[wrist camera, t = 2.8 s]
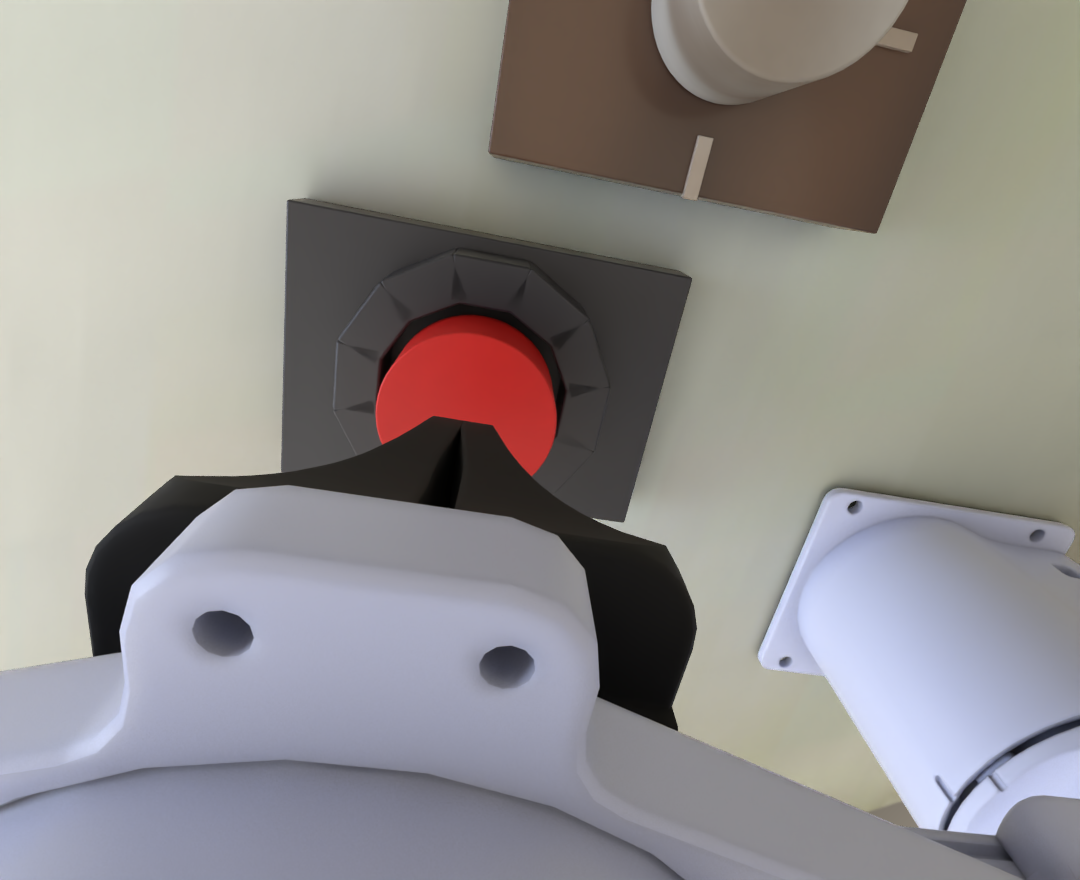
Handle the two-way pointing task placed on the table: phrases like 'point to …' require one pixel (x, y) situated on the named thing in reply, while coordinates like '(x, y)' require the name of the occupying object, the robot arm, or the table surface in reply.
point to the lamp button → (472, 385)
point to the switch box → (486, 290)
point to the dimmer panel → (713, 114)
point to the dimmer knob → (764, 42)
